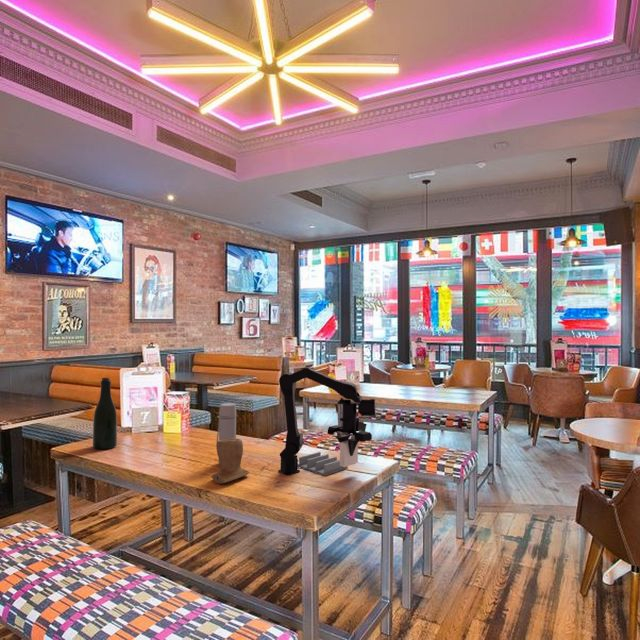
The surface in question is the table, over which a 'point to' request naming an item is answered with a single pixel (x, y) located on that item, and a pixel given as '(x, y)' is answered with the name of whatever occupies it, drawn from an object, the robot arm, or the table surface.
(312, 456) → the dish rack
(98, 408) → the dark wine bottle
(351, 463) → the beige upright tile
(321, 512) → the table surface
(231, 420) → the water bottle
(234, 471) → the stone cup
